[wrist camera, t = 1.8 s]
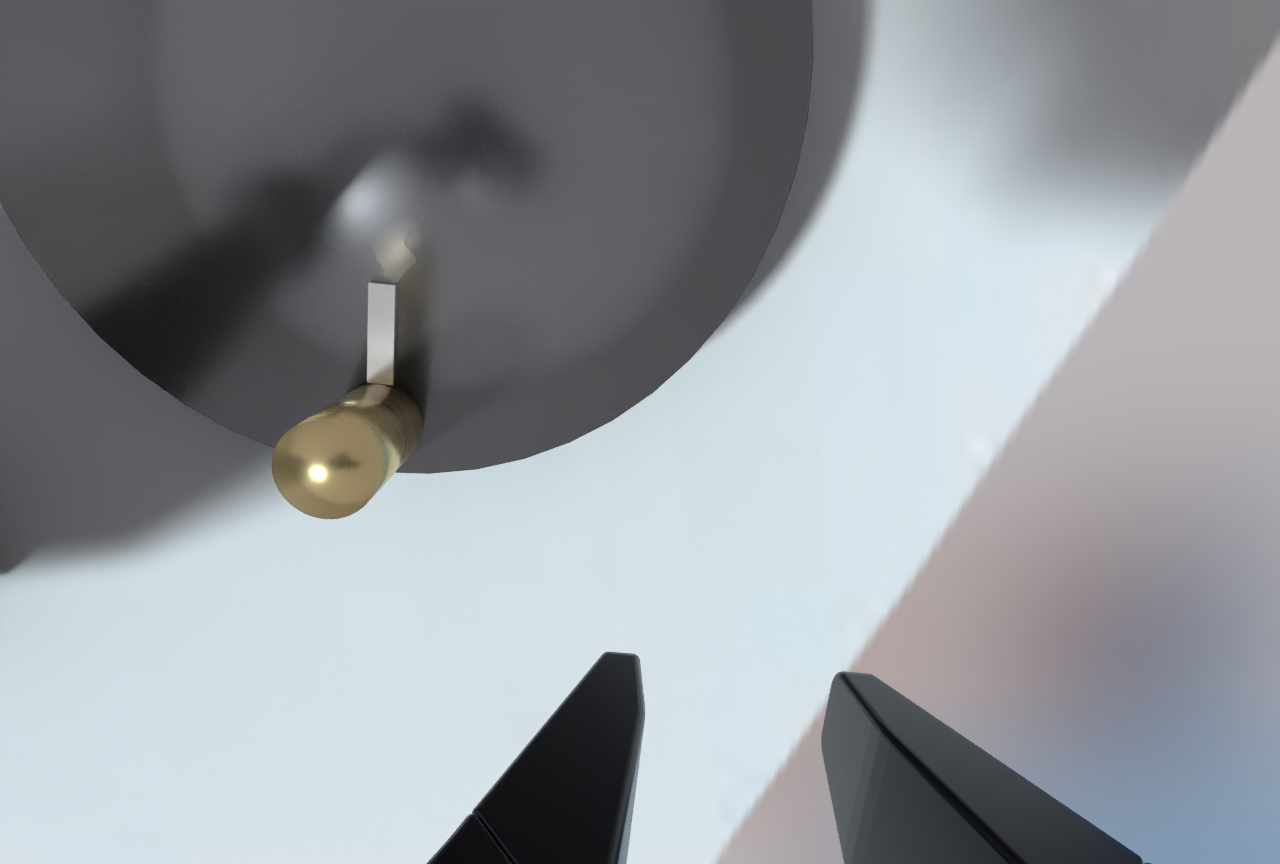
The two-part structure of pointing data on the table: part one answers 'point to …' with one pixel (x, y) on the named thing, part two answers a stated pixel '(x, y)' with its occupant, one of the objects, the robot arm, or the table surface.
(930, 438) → the table surface
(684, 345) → the turntable
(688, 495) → the table surface
